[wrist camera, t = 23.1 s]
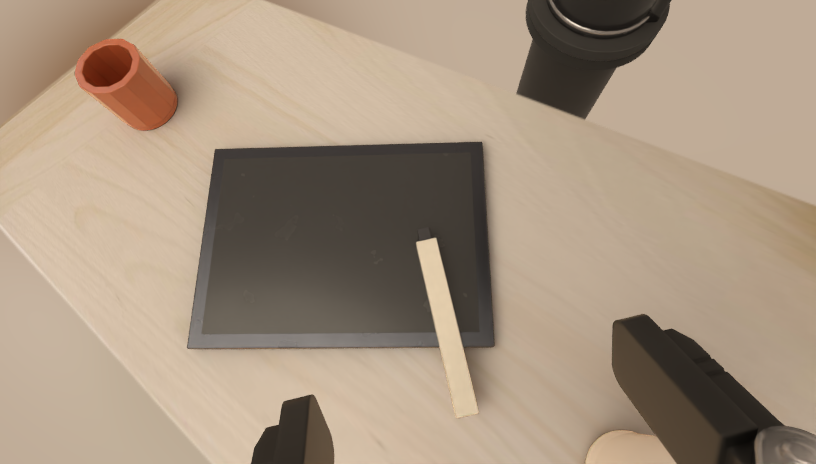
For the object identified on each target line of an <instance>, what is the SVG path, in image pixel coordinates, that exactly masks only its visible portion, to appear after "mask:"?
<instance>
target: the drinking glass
mask: <svg viewBox="0 0 816 464" xmlns="http://www.w3.org/2000/svg"><path fill="white" fill-rule="evenodd" d="M585 464H677V463H676V462H675V461H674V459H673V458H672V457H671V455H670V454H669V453H668V451H667V450H666V448H665V447H664V446H663V444H662V443H661V442H660V440H659V439H658V437H657V436H655V435H647V434H640V433H636V432H633V431H628V430H616V431H611V432H608V433H606V434H604V435H602V436H600V437H599V438H598V439H597V440H596V441H595V442H594V443H593V444H592V446H591V447H590V449H589V451H588V454H587V457H586V461H585Z"/></svg>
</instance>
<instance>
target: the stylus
mask: <svg viewBox="0 0 816 464" xmlns="http://www.w3.org/2000/svg"><path fill="white" fill-rule="evenodd" d="M417 233H418V238H419V241H418V242H416V247H417V252H418V256H419V260H420V265H421V269H422V273H423V278H424V282H425V286H426V291H427V295H428V299H429V304H430V308H431V313H432V317H433V321H434V326H435V330H436V334H437V339H438V343H439V347H440V352H441V356H442V360H443V365H444V369H445V373H446V378H447V382H448V387H449V391H450V395H451V400H452V404H453V408H454V413H455V416H456V418H462V417H466V416H470V415H475V414H479V410H478V405H477V401H476V397H475V393H474V389H473V385H472V381H471V377H470V373H469V369H468V365H467V361H466V357H465V353H464V349H463V344H462V340H461V336H460V332H459V328H458V324H457V320H456V316H455V312H454V308H453V304H452V300H451V296H450V292H449V288H448V283H447V279H446V275H445V271H444V267H443V263H442V259H441V255H440V251H439V247H438V243H437V239H436V238H432V237H431V233H430V229H429V227H426V228H421V229H417Z"/></svg>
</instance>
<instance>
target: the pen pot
mask: <svg viewBox="0 0 816 464" xmlns="http://www.w3.org/2000/svg"><path fill="white" fill-rule="evenodd" d="M75 77H76V79H77V82H78V84H79V86H80V87H81V88H82V89H83V90H84V91H86V92H87V93H88V94H89V95H90V96H92V97H93V98H94V99H95V100H97V101H98V102H99V103H100V104H102V105H103V106H104V107H105V108H107V109H108V110H109V111H110V112H111V113H113V114H114V115H115V116H116V117H118V118H119V119H120V120H121V121H123V122H124V123H126V124H127V125H129V126H130V127H132V128H134V129H137V130H152V129H155V128H158V127H160V126H161V125H163V124H165V123H166V122H167V121H168V120H169V119H170V118H171V117H172V115H173V114H174V112H175V110H176V107H177V95H176V93H175V91H174V89H173V88H172V87H171V85H170V84H169V83H168V82H167V80H166V79H165V78H164V77H163V76H162V75H161V74H160V73H159V72H158V71H157V69H156V68H155V67H154V66H153V65H152V64H151V63H150V62H149V61H148V60H147V58H146V57H145V56H144V55H143V54H142V53H141V52H140V51H139V50H138V49H137V47H136V46H135V45H133V44H131V43H129V42H127V41H125V40H123V39H106V40H103V41H101V42H99V43H97V44H95V45H92V46H90V47H89V48H88V49H87V50H86V52H84V54H83V55H82V56H81V57H80V58H79V60H78V62H77V66H76V70H75Z"/></svg>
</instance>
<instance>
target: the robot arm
mask: <svg viewBox="0 0 816 464" xmlns="http://www.w3.org/2000/svg"><path fill="white" fill-rule="evenodd" d="M546 2H547V5H548V7H549V10H550V11H551V13H552V15H553V16H554V17H555V18H556V20H557V21H558V22H559V23H561V24H562V25H563V26H564V27H566V28H567V29H569V30H571V31H572V32H574V33H577V34H579V35H582V36H585V37H589V38H595V39H614V38H619V37H623V36H626V35H629V34H631V33H633V32H635V31H637V30H638V29H640V28H641V27H642V26H643V25H644V24H645V23H649V22H657V21H658V20H659V19H660V17H661V16H662V14H663V12H664V11H665V9H666V8H667V6H668V5H669V3H670V2H671V0H546ZM612 367H613V371H614V374H615V377H616V379H617V381H618V383H619V385H620V387H621V388H622V390H623V391H624V392H625V394H626V395H627V396H628V398H629V399H630V400H631V402H632V403H633V405H634V406H635V407H636V409H637V410H638V411H639V413H640V414H641V416H642V417H643V418H644V420H645V421H646V422H647V424H648V425H649V427H650V428H651V429H652V431H653V432H654V433H655V435H656V436H657V437H658V439H659V440H660V442H661V443H662V444H663V446H664V447H665V448H666V450H667V451H668V453H669V454H670V455H671V457H672V458H673V459H674V461H675V462H676V463H677V464H816V435H814V434H812V433H809V432H807V431H804V430H801V429H798V428H794V427H788V426H784V425H783V424H782V423H781V422H780V421H779V420H777V419H776V418H775V417H774V416H773V415H772V414H771V413H770V412H769V411H768V410H767V409H766V408H765V407H764V406H763V405H762V404H761V403H760V402H759V401H757V400H756V399H755V398H754V397H753V396H752V395H751V394H750V393H749V392H748V391H747V390H746V389H745V388H744V387H743V386H742V385H741V384H740V383H738V382H737V381H736V380H735V379H734V378H733V377H732V376H731V375H730V374H729V373H728V372H725V371H724V368H723V367H722V366H721V365H719V364H718V363H717V362H716V361H715V360H714V359H711V358H710V355H709V354H708V353H707V352H706V351H705V350H704V349H703V348H702V347H700V346H699V345H698V344H697V343H696V342H695V341H694V340H693V339H691V338H689V337H687V336H685V335H683V334H681V333H679V332H677V331H675V330H673V329H668V330H664V331H663V330H662V329H661V328H660V327H659V326H658V325H657V324H656V323H655V322H654V321H653V320H652V319H651V318H650V317H649V316H647V315H645V314H641V315H637V316H633V317H629V318H625V319H621V320H616V321H614V323H613V334H612ZM251 464H334V447H333V441H332V437H331V433H330V431H329V428H328V426H327V424H326V421H325V419H324V416H323V414H322V412H321V409H320V407H319V405H318V402H317V400H316V398H315V396H314V395H313V394H312V395H308V396H304V397H300V398H296V399H292V400H287V401H284V402H283V404H282V408H281V415H280V421H279V425H276V426H271V427H267V428H266V429H265V431H264V432H263V434H262V436H261V438H260V439H259V441H258V443H257V444H256V446H255V448H254V452H253V457H252V462H251Z"/></svg>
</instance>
